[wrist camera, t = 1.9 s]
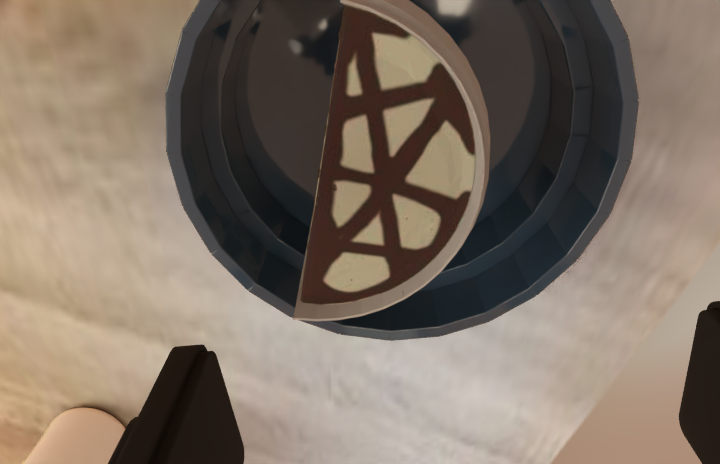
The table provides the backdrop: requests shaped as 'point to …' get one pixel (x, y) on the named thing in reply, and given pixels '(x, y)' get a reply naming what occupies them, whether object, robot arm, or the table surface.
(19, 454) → the table surface
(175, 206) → the table surface
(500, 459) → the table surface
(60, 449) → the drinking glass
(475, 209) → the food container
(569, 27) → the bowl
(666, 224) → the table surface
